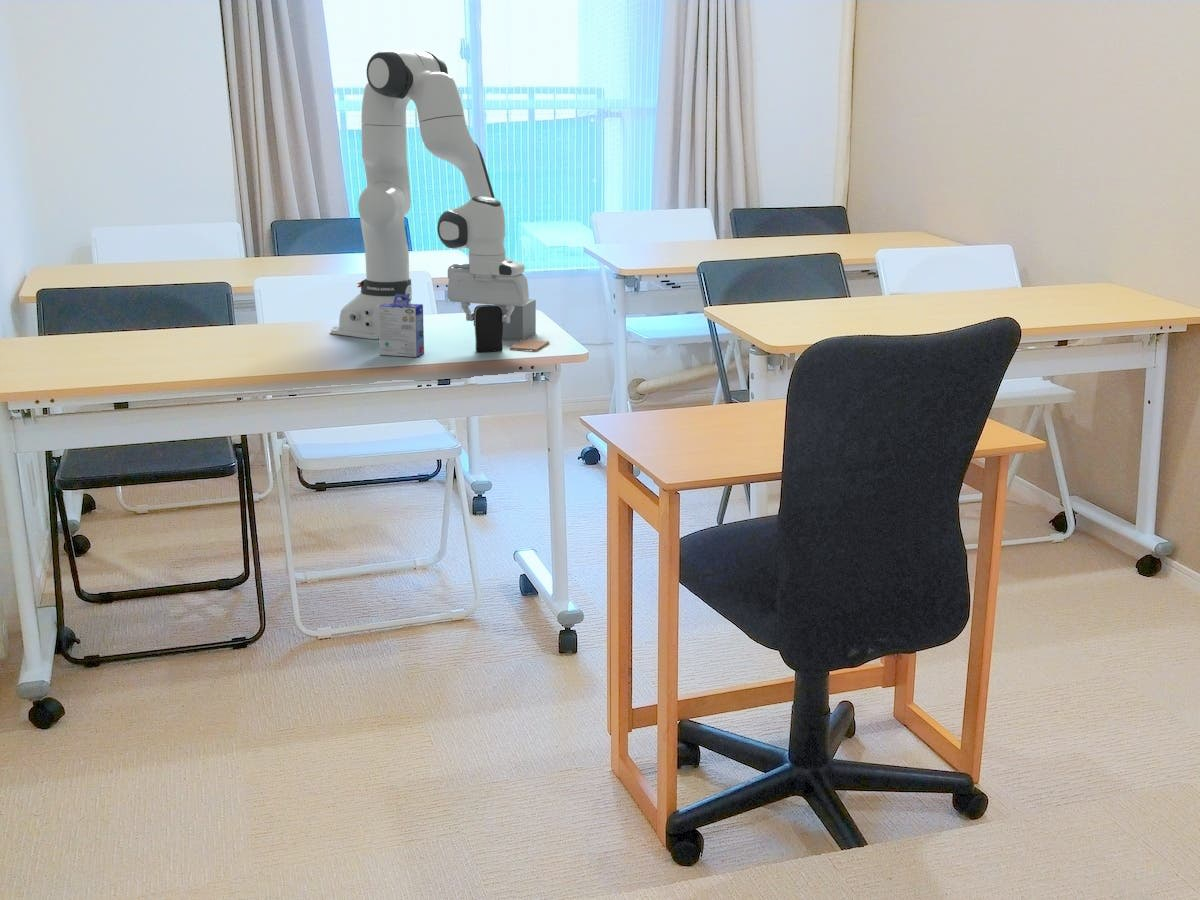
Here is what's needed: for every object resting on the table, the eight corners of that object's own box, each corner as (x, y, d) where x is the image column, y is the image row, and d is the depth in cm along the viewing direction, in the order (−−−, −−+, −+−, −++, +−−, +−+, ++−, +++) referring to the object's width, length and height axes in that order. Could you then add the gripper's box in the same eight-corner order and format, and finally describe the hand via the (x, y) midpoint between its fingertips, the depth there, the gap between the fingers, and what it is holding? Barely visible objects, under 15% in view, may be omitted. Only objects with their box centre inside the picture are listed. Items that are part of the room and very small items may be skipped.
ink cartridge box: (425, 353, 288) (423, 294, 284) (417, 358, 283) (416, 298, 279) (387, 350, 290) (385, 292, 286) (378, 355, 285) (376, 296, 281)
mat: (509, 349, 293) (509, 347, 293) (523, 341, 303) (523, 339, 302) (536, 351, 292) (536, 349, 291) (549, 343, 301) (549, 341, 301)
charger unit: (493, 338, 306) (493, 303, 303) (508, 330, 315) (507, 296, 313) (522, 340, 304) (522, 305, 301) (536, 332, 313) (536, 298, 311)
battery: (500, 348, 295) (499, 302, 291) (503, 351, 291) (503, 305, 288) (472, 349, 293) (471, 304, 289) (476, 353, 289) (475, 306, 286)
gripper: (442, 264, 285) (443, 321, 290) (521, 269, 280) (522, 326, 284) (452, 261, 291) (454, 316, 295) (530, 265, 286) (531, 322, 290)
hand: (488, 321), depth 290 cm, fingers open, 8 cm apart
